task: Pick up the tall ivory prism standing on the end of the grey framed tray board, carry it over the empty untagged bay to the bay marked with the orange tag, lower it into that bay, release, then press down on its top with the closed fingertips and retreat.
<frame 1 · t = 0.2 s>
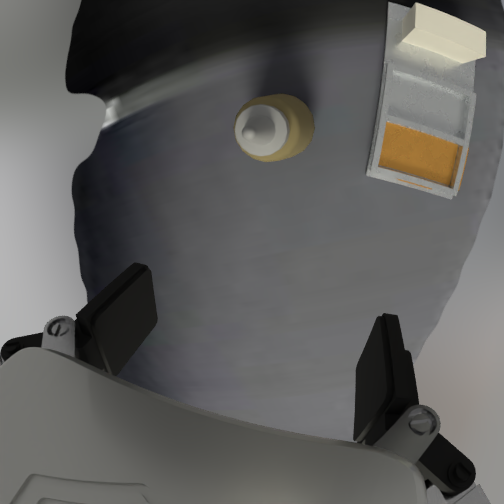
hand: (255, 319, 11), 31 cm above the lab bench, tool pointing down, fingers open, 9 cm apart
grey framed tray board: (427, 97, 29), on the lab bench
tall ivory prism: (434, 40, 25), point 1 cm above the lab bench, touching grey framed tray board
squeeze bottle: (285, 124, 36), on the lab bench
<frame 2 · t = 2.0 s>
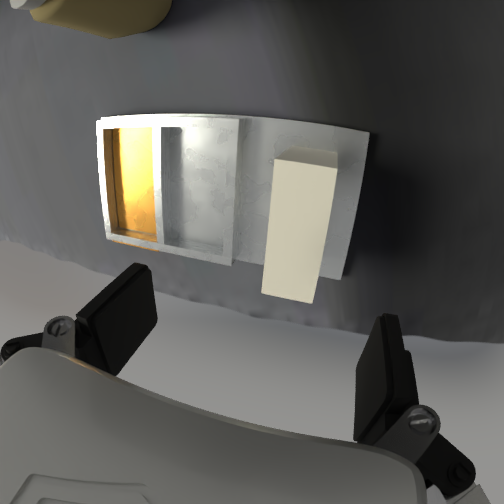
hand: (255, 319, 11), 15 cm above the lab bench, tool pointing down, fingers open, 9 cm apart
grey framed tray board: (213, 186, 26), on the lab bench
tall ivory prism: (307, 203, 24), point 1 cm above the lab bench, touching grey framed tray board
squeeze bottle: (148, 7, 19), on the lab bench
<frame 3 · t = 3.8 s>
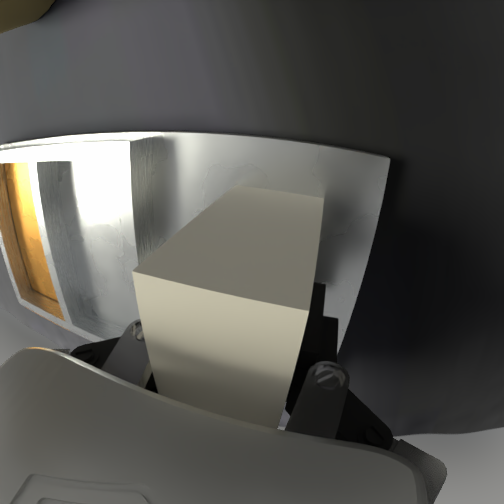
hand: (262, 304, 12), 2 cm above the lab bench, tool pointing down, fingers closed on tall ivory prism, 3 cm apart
grey framed tray board: (123, 247, 16), on the lab bench
tall ivory prism: (268, 288, 13), point 1 cm above the lab bench, touching gripper, grey framed tray board
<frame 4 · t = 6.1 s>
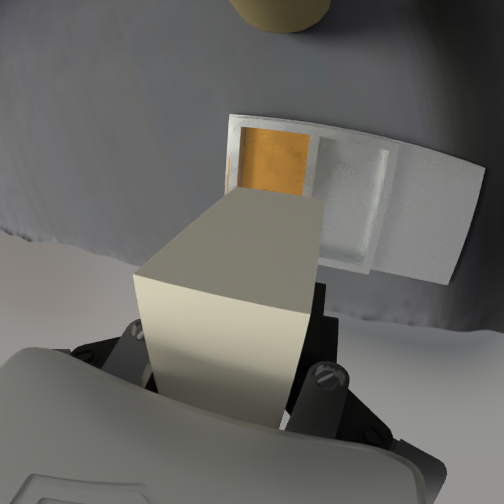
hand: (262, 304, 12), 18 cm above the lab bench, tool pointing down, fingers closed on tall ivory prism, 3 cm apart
grey framed tray board: (354, 199, 27), on the lab bench
tall ivory prism: (268, 289, 13), point 17 cm above the lab bench, touching gripper
squeeze bottle: (289, 7, 20), on the lab bench
when the fingers open (3 cm above the lab bench, at t = 8.3 s): tall ivory prism stays where it is, resting on grey framed tray board.
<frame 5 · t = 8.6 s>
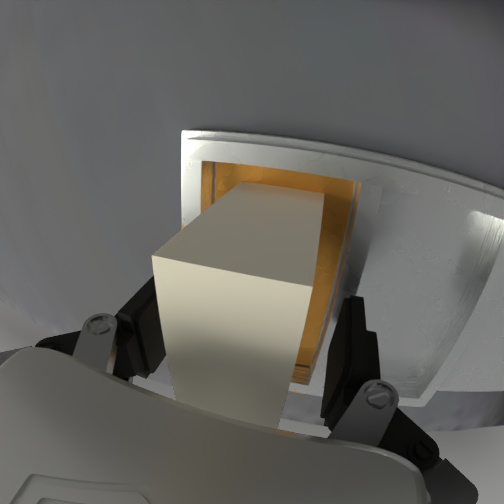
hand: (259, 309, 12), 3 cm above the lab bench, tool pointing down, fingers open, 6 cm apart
grey framed tray board: (420, 295, 14), on the lab bench
tall ivory prism: (272, 279, 14), point 1 cm above the lab bench, touching grey framed tray board
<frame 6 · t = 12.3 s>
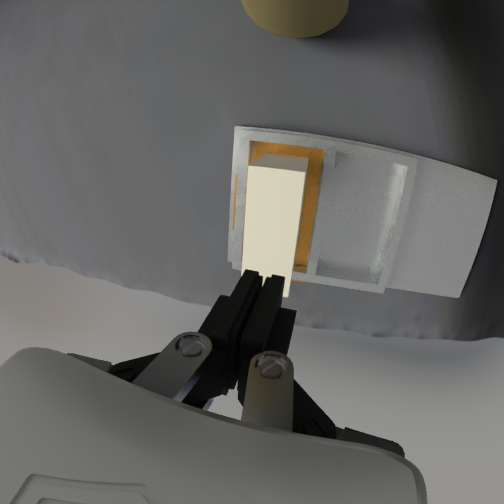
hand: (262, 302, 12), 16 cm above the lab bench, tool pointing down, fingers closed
grey framed tray board: (367, 216, 25), on the lab bench
tall ivory prism: (282, 205, 26), point 1 cm above the lab bench, touching grey framed tray board
squeeze bottle: (298, 10, 19), on the lab bench
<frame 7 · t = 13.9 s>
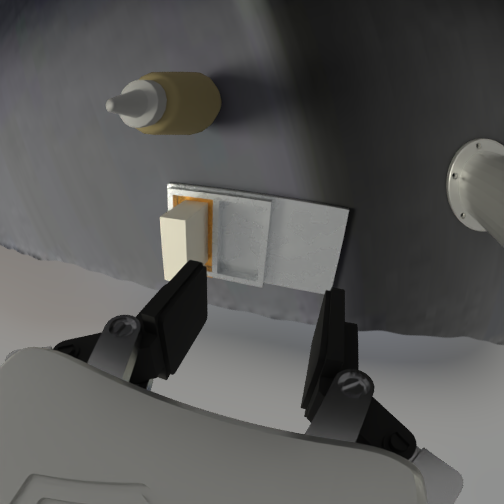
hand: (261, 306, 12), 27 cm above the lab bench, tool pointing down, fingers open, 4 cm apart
grey framed tray board: (250, 237, 42), on the lab bench
tall ivory prism: (196, 231, 43), point 1 cm above the lab bench, touching grey framed tray board
squeeze bottle: (201, 103, 35), on the lab bench
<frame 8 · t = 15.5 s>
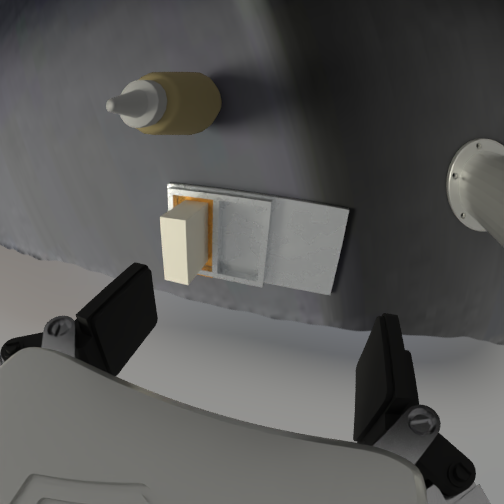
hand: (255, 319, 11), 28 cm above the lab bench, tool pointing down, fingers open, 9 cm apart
grey framed tray board: (250, 237, 42), on the lab bench
tall ivory prism: (196, 231, 43), point 1 cm above the lab bench, touching grey framed tray board
squeeze bottle: (201, 103, 35), on the lab bench
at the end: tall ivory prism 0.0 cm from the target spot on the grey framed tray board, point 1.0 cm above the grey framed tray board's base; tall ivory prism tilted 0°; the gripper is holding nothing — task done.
